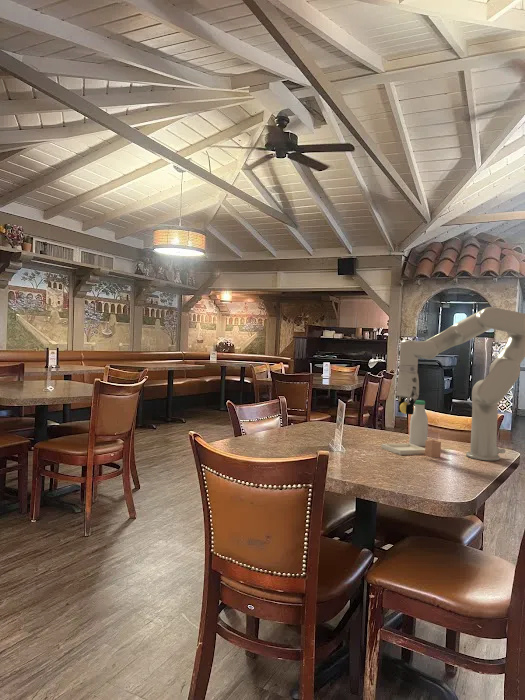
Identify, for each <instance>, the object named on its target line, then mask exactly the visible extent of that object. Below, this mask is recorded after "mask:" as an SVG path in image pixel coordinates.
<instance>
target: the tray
mask: <svg viewBox="0 0 525 700" xmlns="http://www.w3.org/2000/svg"><path fill="white" fill-rule="evenodd" d="M380 447H381V448H380V449H382V450H385V451H387V452H391V453H394V454H396V455H398V456H409V455H411V456H415V455H425V447H423V446H416V445H413V444H410V443H409V442H407V443H404V442H403V443H381V446H380Z"/></svg>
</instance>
